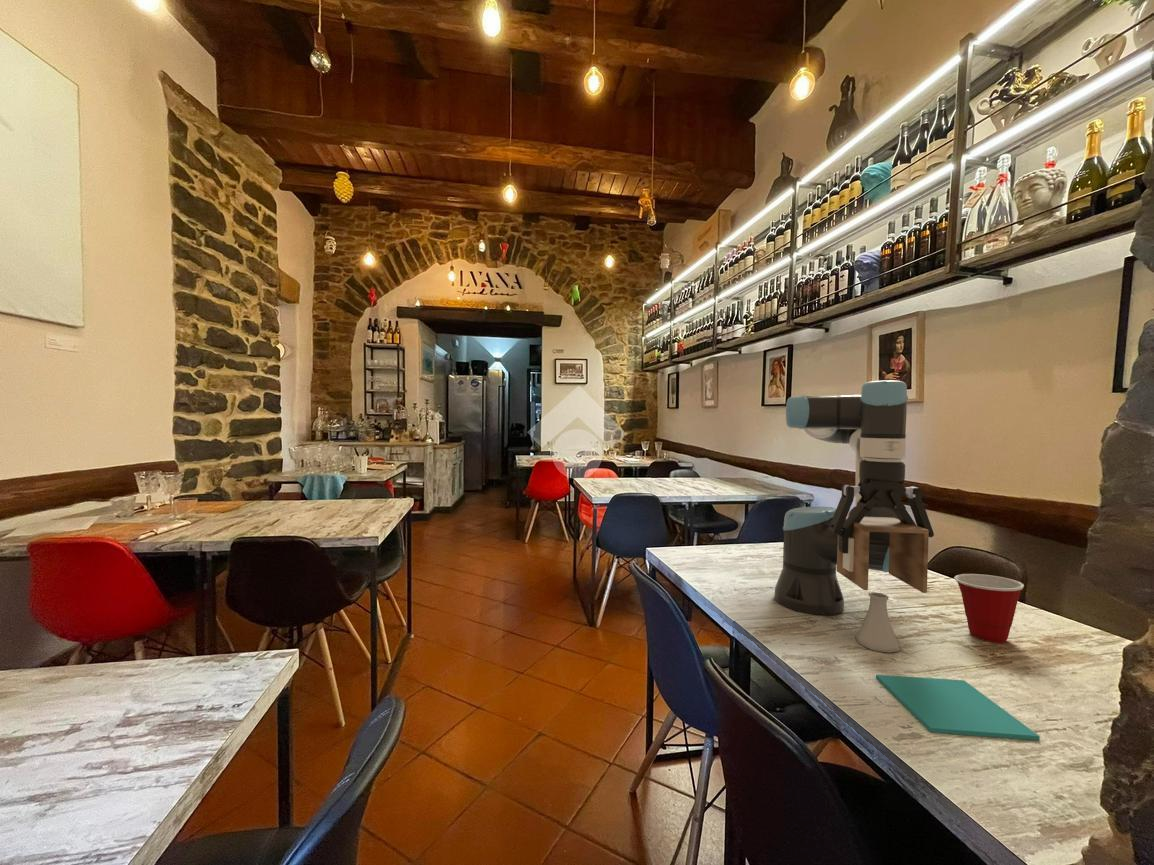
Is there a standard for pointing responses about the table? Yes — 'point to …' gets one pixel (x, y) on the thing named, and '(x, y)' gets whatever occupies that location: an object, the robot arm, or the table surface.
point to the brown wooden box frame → (903, 552)
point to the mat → (954, 707)
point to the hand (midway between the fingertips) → (879, 570)
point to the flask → (877, 626)
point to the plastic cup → (989, 605)
